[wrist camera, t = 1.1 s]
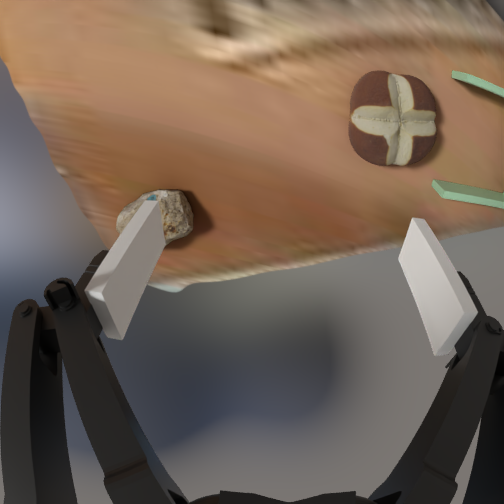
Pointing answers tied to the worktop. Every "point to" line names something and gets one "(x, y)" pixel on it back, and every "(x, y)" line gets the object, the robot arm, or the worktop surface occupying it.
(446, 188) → the mint green tray
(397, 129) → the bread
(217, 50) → the worktop surface
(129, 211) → the rock
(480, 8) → the worktop surface
